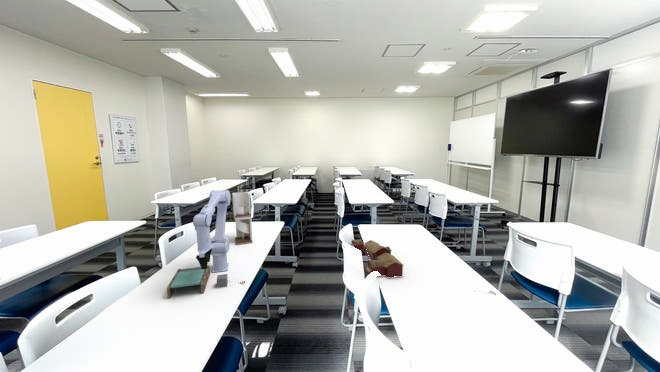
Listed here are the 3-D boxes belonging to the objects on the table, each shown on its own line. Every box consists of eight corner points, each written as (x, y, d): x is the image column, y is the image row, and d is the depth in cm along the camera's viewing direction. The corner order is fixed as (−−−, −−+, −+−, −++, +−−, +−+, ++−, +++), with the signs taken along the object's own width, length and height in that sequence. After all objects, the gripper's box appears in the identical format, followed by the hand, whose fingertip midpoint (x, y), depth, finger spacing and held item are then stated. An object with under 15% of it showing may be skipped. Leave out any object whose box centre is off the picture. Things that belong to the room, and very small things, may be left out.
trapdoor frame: (179, 277, 136) (178, 268, 135) (210, 274, 140) (209, 265, 139) (167, 298, 117) (166, 288, 116) (203, 293, 121) (202, 283, 120)
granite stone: (218, 283, 130) (217, 275, 129) (227, 282, 131) (227, 273, 131) (217, 288, 126) (216, 279, 125) (227, 286, 127) (226, 278, 126)
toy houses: (407, 276, 137) (408, 258, 136) (370, 280, 133) (370, 261, 132) (375, 245, 181) (375, 231, 179) (346, 247, 177) (346, 233, 175)
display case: (234, 240, 191) (232, 192, 185) (250, 237, 195) (247, 191, 190) (236, 245, 180) (233, 195, 175) (252, 242, 185) (250, 194, 180)
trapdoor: (181, 273, 134) (180, 268, 134) (206, 270, 137) (206, 265, 137) (170, 291, 117) (170, 286, 117) (200, 287, 121) (199, 282, 120)
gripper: (210, 243, 119) (212, 271, 121) (215, 233, 133) (216, 258, 135) (193, 244, 117) (195, 273, 119) (199, 234, 131) (202, 259, 133)
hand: (205, 265), depth 127 cm, fingers open, 7 cm apart
